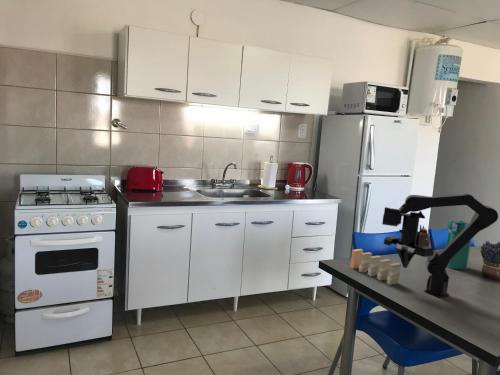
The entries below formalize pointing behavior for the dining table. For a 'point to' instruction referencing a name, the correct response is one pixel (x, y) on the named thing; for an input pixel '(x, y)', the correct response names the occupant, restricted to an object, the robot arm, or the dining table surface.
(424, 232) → the wooden figurine
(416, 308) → the dining table surface
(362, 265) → the domino
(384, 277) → the domino
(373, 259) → the domino
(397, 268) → the domino
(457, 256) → the teal tall bottle
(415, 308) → the dining table surface
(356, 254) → the domino
